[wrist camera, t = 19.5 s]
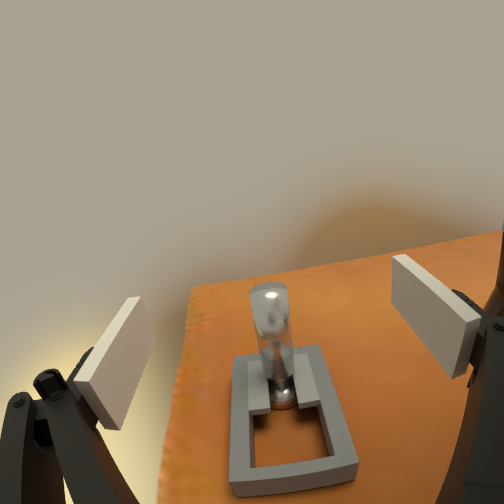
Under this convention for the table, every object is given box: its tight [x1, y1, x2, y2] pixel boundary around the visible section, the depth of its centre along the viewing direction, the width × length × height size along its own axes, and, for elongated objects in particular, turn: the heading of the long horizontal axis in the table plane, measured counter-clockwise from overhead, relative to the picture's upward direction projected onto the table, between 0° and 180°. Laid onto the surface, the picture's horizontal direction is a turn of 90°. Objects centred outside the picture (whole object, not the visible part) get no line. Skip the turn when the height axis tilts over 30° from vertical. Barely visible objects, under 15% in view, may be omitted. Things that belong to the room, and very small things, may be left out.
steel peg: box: [249, 282, 298, 409], centre depth 34 cm, size 5×5×16 cm
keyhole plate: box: [229, 344, 359, 497], centre depth 31 cm, size 20×12×4 cm, turn 1°
